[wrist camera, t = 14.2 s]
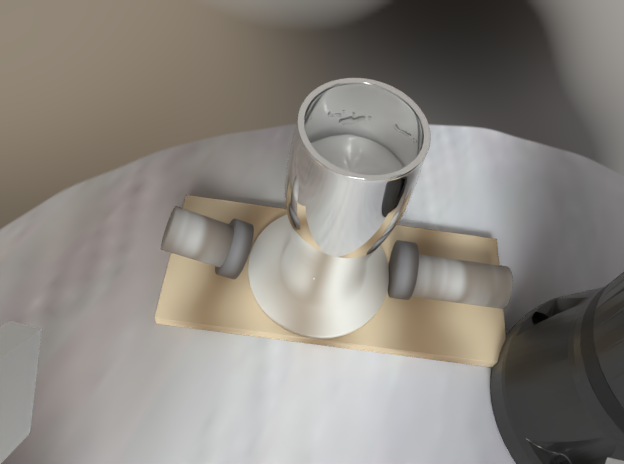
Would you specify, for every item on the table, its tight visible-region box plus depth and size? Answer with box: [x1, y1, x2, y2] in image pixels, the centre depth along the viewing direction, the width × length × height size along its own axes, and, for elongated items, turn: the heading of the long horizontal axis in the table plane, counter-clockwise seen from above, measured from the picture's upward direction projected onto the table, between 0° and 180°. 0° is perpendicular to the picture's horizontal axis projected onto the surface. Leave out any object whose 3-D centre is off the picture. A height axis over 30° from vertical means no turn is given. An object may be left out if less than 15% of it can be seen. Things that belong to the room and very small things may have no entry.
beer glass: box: [280, 78, 430, 309], centre depth 34 cm, size 7×7×15 cm
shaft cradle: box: [154, 195, 513, 367], centre depth 39 cm, size 24×10×6 cm, turn 85°
